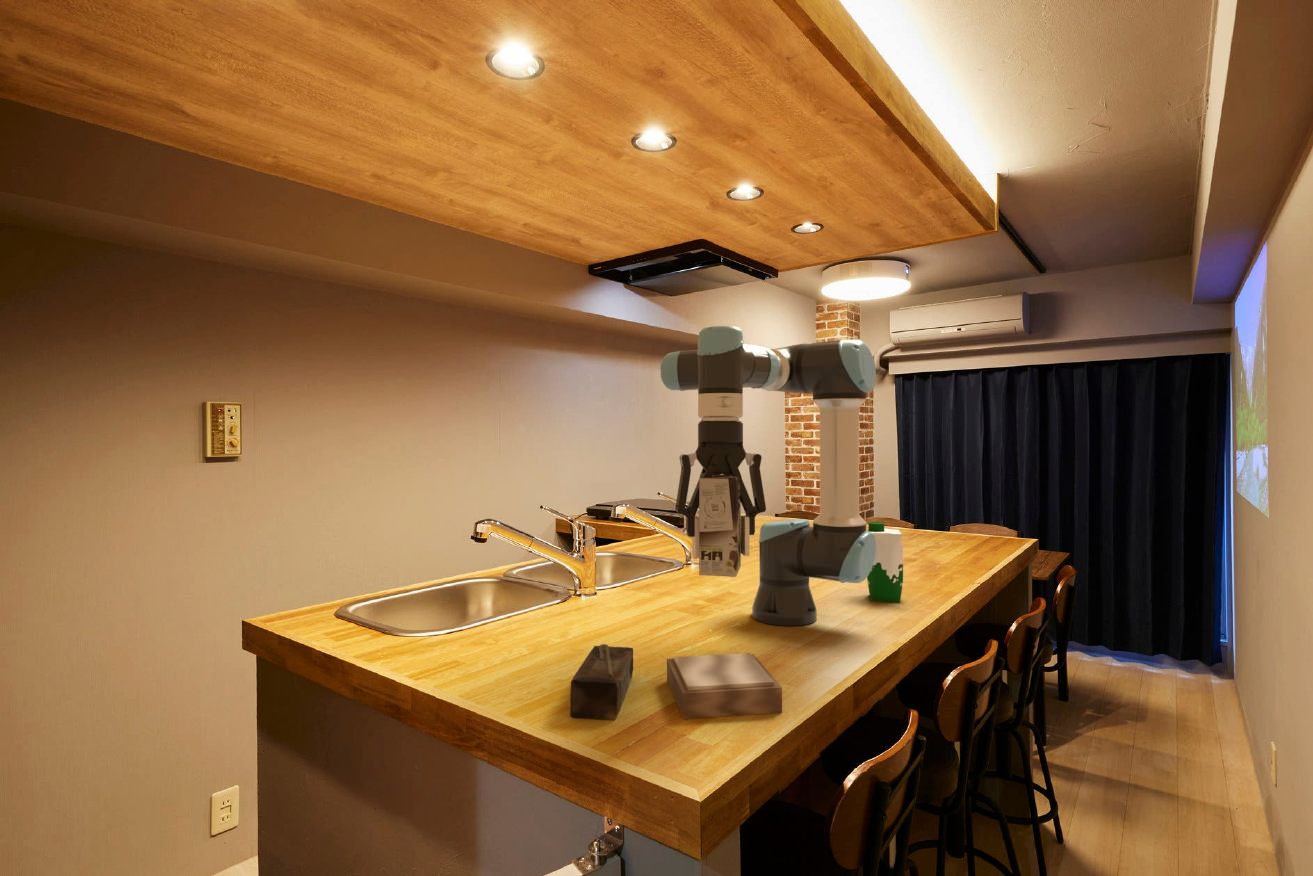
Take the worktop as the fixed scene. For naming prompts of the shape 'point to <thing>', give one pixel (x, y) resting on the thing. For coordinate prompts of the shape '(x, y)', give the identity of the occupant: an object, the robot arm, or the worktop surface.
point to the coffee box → (719, 526)
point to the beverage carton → (601, 683)
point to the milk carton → (886, 564)
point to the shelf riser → (722, 686)
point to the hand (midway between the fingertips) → (720, 555)
